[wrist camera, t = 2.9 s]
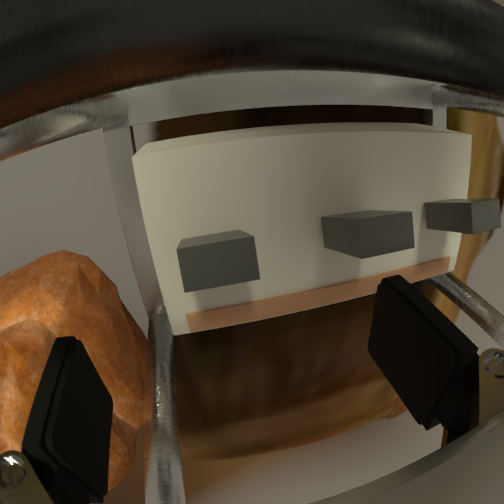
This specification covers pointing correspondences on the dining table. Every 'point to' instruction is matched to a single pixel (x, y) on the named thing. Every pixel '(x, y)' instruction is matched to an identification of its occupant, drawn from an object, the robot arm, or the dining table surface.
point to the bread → (83, 328)
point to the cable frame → (231, 106)
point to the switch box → (295, 210)
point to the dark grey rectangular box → (368, 232)
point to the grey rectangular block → (217, 260)
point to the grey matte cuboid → (463, 215)
